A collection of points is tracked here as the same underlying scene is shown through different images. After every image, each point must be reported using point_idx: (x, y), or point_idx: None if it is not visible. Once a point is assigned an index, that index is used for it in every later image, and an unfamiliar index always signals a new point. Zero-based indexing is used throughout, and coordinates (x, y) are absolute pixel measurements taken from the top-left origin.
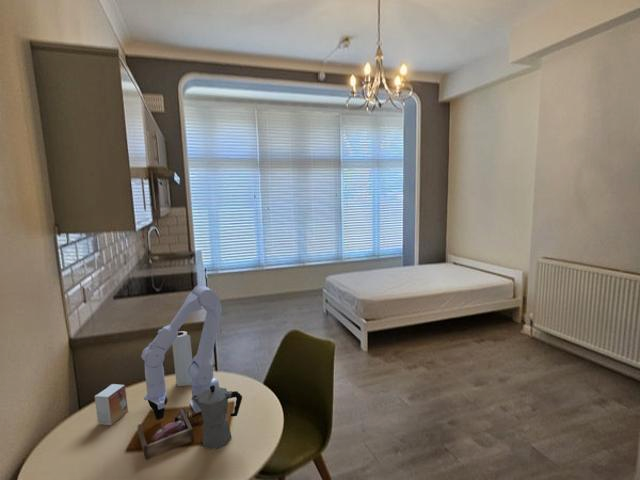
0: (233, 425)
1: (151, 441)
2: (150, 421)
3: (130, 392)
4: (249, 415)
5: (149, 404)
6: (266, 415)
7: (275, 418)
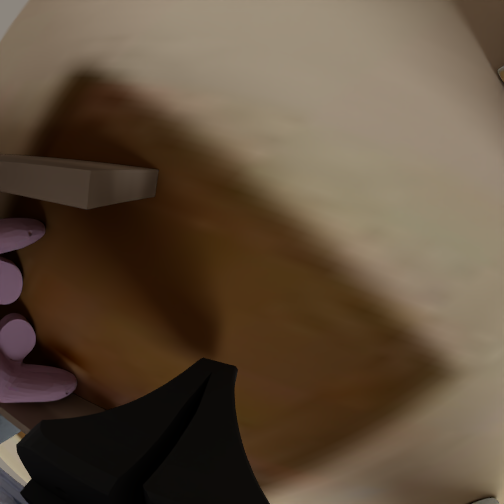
0: None
1: (27, 219)
2: (300, 319)
3: None
4: None
5: (40, 451)
6: None
7: None
